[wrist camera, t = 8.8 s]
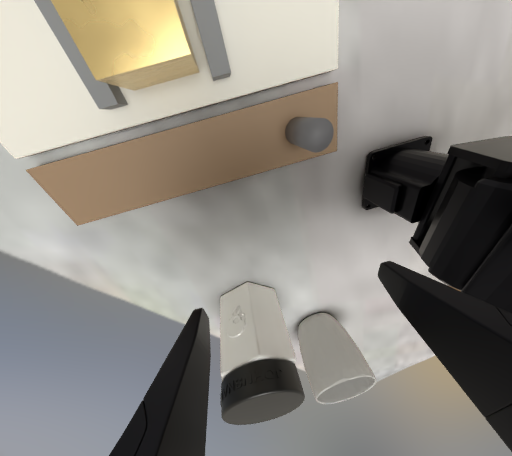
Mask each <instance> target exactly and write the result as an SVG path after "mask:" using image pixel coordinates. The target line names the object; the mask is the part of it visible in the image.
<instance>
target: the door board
mask: <svg viewBox="0 0 512 456" xmlns="http://www.w3.org/2000/svg"><path fill="white" fill-rule="evenodd" d="M177 1H178V5H179V8H180V11H181V14H182V17H183V21H184V24H185V27H186V30H187V33H188V37H189V40H190V43H191V46H192V49H193V53H194V56H195V59H196V62H197V65H198V69H199V73H196V74H192V75H189V76H185V77H181V78H178V79H174V80H171V81H167V82H164V83H160V84H156V85H153V86H149V87H146V88H142V89H138V90H135V91H134V90H130V89H126V88H123V87H119V86H115V85H111V84H108V83H104V82H100V81H97V80H96V79H95V78H94V76H93V74H92V72H91V71H90V69H89V67H88V65H87V64H86V62H85V60H84V58H83V56H82V55H81V53H80V51H79V49H78V48H77V46H76V44H75V42H74V41H73V39H72V37H71V35H70V33H69V32H68V30H67V28H66V26H65V25H64V23H63V21H62V19H61V18H60V16H59V14H58V12H57V10H56V9H55V7H54V5H53V3H52V2H51V0H0V143H1V144H2V145H3V146H4V147H5V148H6V149H7V151H8V152H9V153H10V154H11V155H12V156H13V157H14V158H15V159H18V158H22V157H27V156H31V155H35V154H38V153H42V152H45V151H49V150H53V149H56V148H60V147H63V146H67V145H70V144H74V143H77V142H81V141H85V140H88V139H92V138H95V137H99V136H102V135H106V134H109V133H113V132H117V131H120V130H124V129H127V128H131V127H134V126H138V125H141V124H145V123H149V122H152V121H156V120H159V119H163V118H166V117H170V116H173V115H177V114H181V113H184V112H188V111H191V110H195V109H198V108H202V107H206V106H209V105H213V104H216V103H220V102H223V101H227V100H230V99H234V98H238V97H241V96H245V95H248V94H252V93H255V92H259V91H262V90H266V89H270V88H273V87H277V86H280V85H284V84H287V83H291V82H294V81H298V80H302V79H305V78H309V77H312V76H316V75H319V74H323V73H326V72H330V71H333V70H335V69H338V27H339V0H177ZM337 107H338V82H336V83H332V84H329V85H325V86H322V87H318V88H315V89H311V90H307V91H304V92H300V93H297V94H293V95H290V96H286V97H283V98H279V99H276V100H272V101H268V102H265V103H261V104H258V105H254V106H251V107H247V108H244V109H240V110H237V111H233V112H229V113H226V114H222V115H219V116H215V117H212V118H208V119H205V120H201V121H198V122H194V123H190V124H187V125H183V126H180V127H176V128H173V129H169V130H166V131H162V132H159V133H155V134H151V135H148V136H144V137H141V138H137V139H134V140H130V141H127V142H123V143H120V144H116V145H113V146H109V147H105V148H102V149H98V150H95V151H91V152H88V153H84V154H81V155H77V156H74V157H70V158H66V159H63V160H59V161H56V162H52V163H49V164H45V165H42V166H38V167H35V168H31V169H28V170H26V171H27V172H28V173H29V174H30V175H31V176H32V177H33V178H34V179H35V181H36V182H37V183H38V184H39V185H40V186H41V187H42V188H43V189H44V190H45V191H46V192H47V193H48V195H49V196H50V197H51V198H52V199H53V200H54V201H55V202H56V203H57V204H58V205H59V206H60V207H61V208H62V210H63V211H64V212H65V213H66V214H67V215H68V216H69V217H70V218H71V219H72V220H73V221H74V222H75V224H76V225H77V226H78V225H81V224H85V223H88V222H92V221H95V220H99V219H102V218H106V217H109V216H112V215H116V214H119V213H123V212H126V211H130V210H133V209H137V208H140V207H144V206H147V205H151V204H154V203H158V202H161V201H165V200H168V199H171V198H175V197H178V196H182V195H185V194H189V193H192V192H196V191H199V190H203V189H206V188H210V187H213V186H217V185H220V184H224V183H227V182H231V181H234V180H237V179H241V178H244V177H248V176H251V175H255V174H258V173H262V172H265V171H269V170H272V169H276V168H279V167H283V166H286V165H290V164H293V163H296V162H300V161H303V160H307V159H310V158H314V157H317V156H321V155H324V154H328V153H331V152H335V151H337Z"/></svg>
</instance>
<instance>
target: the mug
mask: <svg viewBox="0 0 512 456" xmlns="http://www.w3.org/2000/svg"><path fill="white" fill-rule="evenodd" d="M298 338H299V345H300V351H301V355H302V359H303V363H304V367H305V370H306V373H307V377H308V380H309V383H310V386H311V389H312V392H313V394H314V396H315V399H316V401H317V402H319V403H321V404H333V403H338V402H342V401H345V400H348V399H351V398H353V397H356V396H358V395H360V394H362V393H364V392H366V391H368V390H369V389H371V388H372V387H373V386H374V385H375V383H376V378H375V376H374V374H373V372H372V370H371V368H370V367H369V365H368V363H367V362H366V360H365V358H364V356H363V355H362V353H361V351H360V350H359V348H358V347H357V345H356V344H355V342H354V341H353V340H352V338H351V337H350V336H349V334H348V333H347V332H346V330H345V329H344V328H343V326H342V325H341V324H340V323H339V322H338V321H337V320H336V319H335V318H334V317H332V316H331V315H329V314H327V313H317V314H314V315H311V316H309V317H307V318H306V319H304V320H303V321H302V322H301V323H300V325H299V328H298Z"/></svg>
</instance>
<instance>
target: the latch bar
mask: <svg viewBox="0 0 512 456" xmlns="http://www.w3.org/2000/svg"><path fill="white" fill-rule="evenodd" d="M51 2H52V3H53V5H54V7H55V9H56V10H57V12H58V14H59V16H60V18H61V19H62V21H63V23H64V25H65V26H66V28H67V30H68V32H69V33H70V35H71V37H72V39H73V41H74V42H75V44H76V46H77V48H78V49H79V51H80V53H81V55H82V56H83V58H84V60H85V62H86V64H87V65H88V67H89V69H90V71H91V72H92V74H93V76H94V78H95V79H96V80H97V81H100V82H104V83H108V84H111V85H115V86H119V87H123V88H126V89H130V90H134V91H135V90H138V89H142V88H146V87H149V86H153V85H156V84H160V83H164V82H167V81H171V80H174V79H178V78H181V77H185V76H189V75H192V74H196V73H199V69H198V65H197V62H196V59H195V56H194V53H193V49H192V46H191V43H190V40H189V37H188V33H187V30H186V27H185V24H184V21H183V17H182V14H181V11H180V8H179V5H178V1H177V0H51Z"/></svg>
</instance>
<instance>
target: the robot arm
mask: <svg viewBox="0 0 512 456" xmlns="http://www.w3.org/2000/svg"><path fill="white" fill-rule="evenodd" d="M425 141H426V142H425ZM431 142H432V137H430V136H424V137H421V138H417V139H414V140H410V141H407V142H403V143H400V144H396V145H393V146H389V147H386V148H383V149H379V150H376V151H372V152H370V153H369V154H368V156H367V163H366V173H365V180H364V190H363V202H362V207H363V208H364V209H365V210H369V209H372V208H376V207H381V208H382V209H384V210H386V211H388V212H389V213H391V214H393V213H395V214H397V215H398V216H400V217H402V218H404V219H405V220H407V221H409V222H411V223H415V222H419V224H418V226H417V229H416V231H415V233H414V235H413V237H411V239H410V242H409V243H410V244H411V245H412V247H413V248H414V249H415V250H416V252H417V253H418V254H419V255H420V257H421V259H422V260H423V261H424V262H425V263H426V265H427V266H428V267H429V269H428V271H429V272H430V273H431V274H432V275H433V276H435V277H436V278H438V279H439V280H440V281H442V282H444V283H446V284H447V285H449V286H451V287H449V286H447V285H445V284H442V283H440V282H438V281H435V280H433V279H431V278H428V277H426V276H424V275H421V274H419V273H417V272H415V271H412V270H410V269H408V268H405V267H403V266H401V265H398V264H396V263H394V262H391V261H387V262H383V263H381V264H380V268H379V271H378V277H379V279H380V281H381V282H382V284H383V285H384V287H385V289H386V290H387V292H388V293H389V295H390V296H391V298H392V299H393V301H394V302H395V304H396V305H397V307H398V308H399V309H400V311H401V312H402V313H403V315H404V316H405V317H406V318H407V320H408V321H409V322H410V323H411V325H412V326H413V327H414V328H415V330H416V331H417V332H418V334H419V335H420V336H421V337H422V339H423V340H424V341H425V342H426V344H427V345H428V346H429V347H430V349H431V350H432V351H433V353H434V354H435V355H436V356H437V358H438V359H439V360H440V361H441V363H442V364H443V365H444V366H445V367H446V369H447V370H448V372H449V373H450V374H451V375H452V376H453V378H454V379H455V380H456V382H457V383H458V384H459V385H460V387H461V388H462V389H463V391H464V392H465V393H466V394H467V396H468V397H469V398H470V399H471V400H472V402H473V403H474V404H475V406H476V407H477V408H478V409H479V411H480V412H481V413H482V415H483V416H484V417H485V418H486V420H487V421H488V422H489V424H490V425H491V426H492V427H493V429H494V430H495V431H496V433H498V435H499V436H500V438H501V439H502V440H503V441H504V443H505V444H506V445H507V446H508V448H509V449H510V450H511V452H512V136H505V137H499V138H493V139H487V140H481V141H474V142H468V143H462V144H456V145H451V146H450V149H449V151H448V153H447V154H442V153H436V152H431V151H429V150H430V146H431ZM448 154H449V155H448ZM373 155H374V158H373V159H372V157H373ZM452 287H453V288H452ZM454 288H455V289H454ZM456 289H458V290H460V291H458V290H456ZM210 357H211V354H210V329H209V318H208V316H207V314H206V312H205V311H204V309H203V308H199V309H195V310H194V311H193V312H192V314H191V316H190V318H189V319H188V321H187V323H186V325H185V326H184V328H183V330H182V332H181V333H180V335H179V337H178V339H177V340H176V342H175V344H174V346H173V348H172V349H171V351H170V353H169V354H168V356H167V358H166V360H165V362H164V363H163V365H162V367H161V368H160V370H159V372H158V374H157V376H156V377H155V379H154V381H153V383H152V384H151V386H150V388H149V390H148V391H147V393H146V395H145V397H144V400H143V401H142V402H141V404H140V405H139V407H138V409H137V411H136V412H135V414H134V416H133V418H132V419H131V421H130V423H129V424H128V426H127V428H126V429H125V431H124V433H123V435H122V436H121V438H120V439H119V441H118V442H117V444H116V446H115V447H114V449H113V450H112V452H111V453H110V455H109V456H205V443H206V426H207V409H208V391H209V376H210V374H209V373H210Z"/></svg>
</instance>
